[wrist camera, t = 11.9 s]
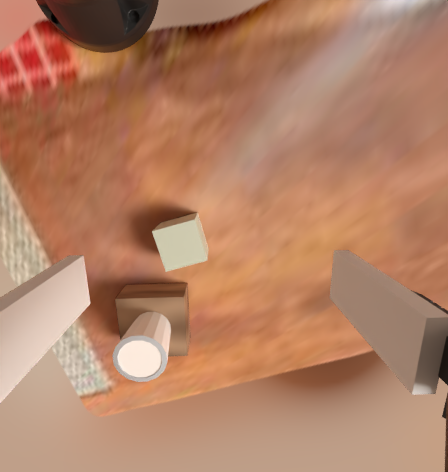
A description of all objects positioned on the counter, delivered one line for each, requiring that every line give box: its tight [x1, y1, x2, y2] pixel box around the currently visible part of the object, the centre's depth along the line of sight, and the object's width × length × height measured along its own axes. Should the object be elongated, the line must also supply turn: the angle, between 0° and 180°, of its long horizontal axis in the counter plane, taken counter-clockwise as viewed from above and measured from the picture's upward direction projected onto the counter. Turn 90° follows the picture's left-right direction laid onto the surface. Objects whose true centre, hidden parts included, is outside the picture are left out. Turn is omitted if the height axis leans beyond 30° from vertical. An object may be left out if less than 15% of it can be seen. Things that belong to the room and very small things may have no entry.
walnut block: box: [115, 283, 190, 356], centre depth 44 cm, size 10×10×5 cm
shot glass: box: [113, 312, 171, 382], centre depth 38 cm, size 7×7×7 cm
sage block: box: [152, 212, 208, 272], centre depth 40 cm, size 6×6×6 cm
